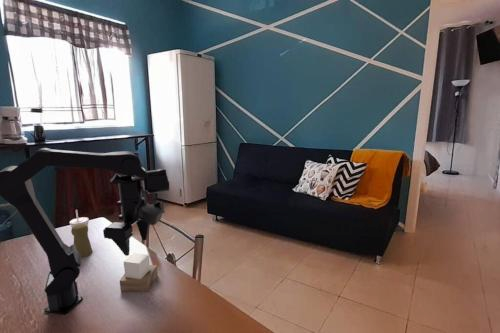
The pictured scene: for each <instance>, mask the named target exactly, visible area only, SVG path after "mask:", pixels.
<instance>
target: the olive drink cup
mask: <svg viewBox="0 0 500 333" xmlns="http://www.w3.org/2000/svg"><path fill="white" fill-rule="evenodd" d="M87 232H88V233H89V225H88V226H87V225H85V224H79V225H75V226H74V227H71V230H70V233H71V234H72V236H73V244H75V246H76V249H77V251H78V252H79V253H80V254H81V259H82V258H87V257H89V256H90V255H92V254H93V252H94V251H93V248H92V245H91V241H90V239H89V234H88V235H87Z"/></svg>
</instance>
